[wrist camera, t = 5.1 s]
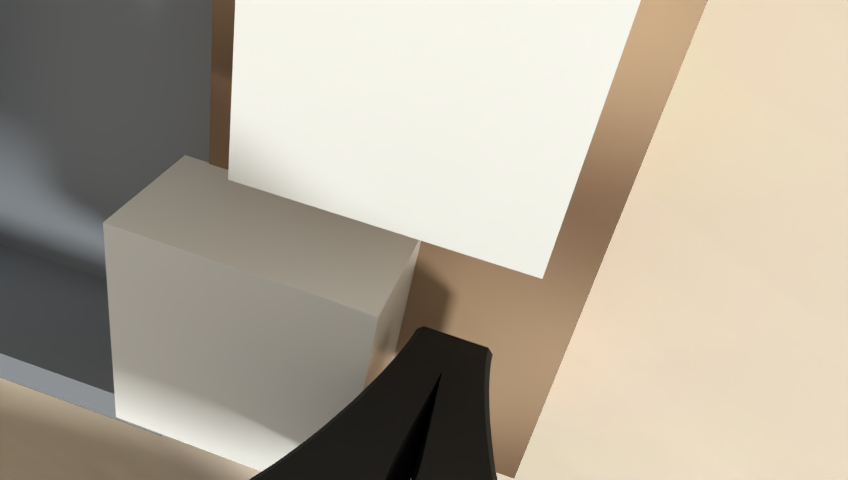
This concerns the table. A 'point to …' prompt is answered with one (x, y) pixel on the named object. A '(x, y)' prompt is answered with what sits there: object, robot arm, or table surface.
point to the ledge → (575, 245)
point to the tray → (85, 167)
